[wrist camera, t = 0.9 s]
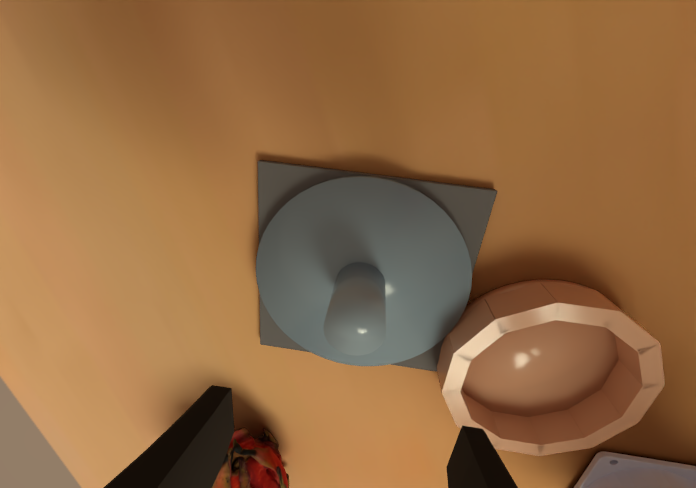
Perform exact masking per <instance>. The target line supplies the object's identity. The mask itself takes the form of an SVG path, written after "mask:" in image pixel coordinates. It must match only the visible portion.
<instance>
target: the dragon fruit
mask: <svg viewBox="0 0 696 488" xmlns="http://www.w3.org/2000/svg"><path fill="white" fill-rule="evenodd" d="M240 429H241V428H240ZM240 429H239V430H238V431H237V430H236V431H234V434H233V437H232V439H231V442H230V445H229V448H228V451H227V453H226V456H225V459H224V461H223V464H222V467H221V469H220V471H219V473H218V475H217V478H216V480H215V482H214V484H213V486H212V488H289V476H288V474H287V473H286V472H285V469H284V467H283V465H282V464H281V455H280V453H279V451H278V449H277V448H278V443H277V442H276V441H275V439H274V437H273V436H272V434H271V433H270V432H269V431H267V430H266V429H264V428H263V430H264V436H262V437H258V438H257V439H256V440H255V441H254V438H253V437H252V436H250V434H249V432H248V431H247V429H246V428H243V429H241V430H240Z"/></svg>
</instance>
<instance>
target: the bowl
mask: <svg viewBox="0 0 696 488" xmlns="http://www.w3.org/2000/svg"><path fill="white" fill-rule="evenodd" d="M437 372H438V377H439V382H440V387H441V392H442V394H443V397H444V399H445V401H446V403H447V406H448V408H449V410H450V412H451V415H452V417H453V419H454V421H455V424H456V426H457V427H459V428H462V426H468V427H475V428H481V429H483V430H484V431H485V433H486V434H487V436H488V438H489V440H490V441H491V443H492V445H493V446H494V448H495V449H499V450H505V451H511V452H517V453H523V454H530V455H536V456H544V455H550V454H557V453H563V452H569V451H575V450H582V449H588V448H593V447H595V446H596V445H598V444H600V443H602V442H604V441H606V440H608V439H609V438H611V437H613V436H615V435H617V434H619V433H621V432H623V431H624V430H626V429H628V428H630V427H632V426H634V425H636V424H637V423H639V421H640V420H641V418H642V417H643V416H644V414H645V413H646V411H647V410H648V409H649V407H650V406H651V404H652V403H653V402H654V400H655V399H656V397H657V396H658V394H659V393H660V392H661V390H662V389H663V387H664V386H665V380H664V371H663V361H662V352H661V344H660V342H658V341H657V340H656V339H655V338H654V337H653V336H652V335H650V334H649V333H648V332H647V331H646V330H645V329H644V328H642V327H641V326H640V325H639V324H638V323H637V322H636V321H634V320H633V319H632V318H631V317H630V316H628V315H627V314H626V313H625V312H623V311H622V310H621V309H620V308H618V307H617V306H616V305H615V304H614V303H612V302H611V301H610V300H609V299H608V298H606V297H605V296H603V295H602V294H601V293H600V292H599V291H597V290H593V289H591V288H589V287H586V286H583V285H580V284H577V283H573V282H568V281H563V280H551V279H543V280H529V281H522V282H517V283H513V284H509V285H506V286H503V287H500V288H497V289H495V290H492V291H490V292H488V293H486V294H484V295H482V296H480V297H479V298H477V299H476V300H474V301H472V302H471V303H470V304H469V305H467V306H466V307H465V310H464V312H463V314H462V316H461V317H460V319H459V321H458V322H457V324H456V325H455V326H454V328H453V329H452V330H451V331H450V332H449V333H448V334H447V335H446V337H445V339H444V342H443V344H442V347H441V351H440V356H439V361H438V364H437Z"/></svg>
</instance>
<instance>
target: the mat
mask: <svg viewBox="0 0 696 488" xmlns="http://www.w3.org/2000/svg"><path fill="white" fill-rule="evenodd" d="M355 175H366V176H378V177H383V178H388V179H392V180H395V181H398V182H401V183H404V184H407V185H409V186H411V187H413V188H415V189H417V190H419V191H421V192H422V193H424V194H425V195H427V196H428V197H430V198H431V199H433V200H434V201H435V202H436V203H437V204H438V205H439V206H440V207H441V208H443V209H444V211H445V212H446V213H447V214H448V215H449V217H450V218H451V219H452V220H453V222H454V223H455V225H456V227H457V228H458V230H459V231H460V233H461V235H462V237H463V239H464V241H465V244H466V246H467V249H468V252H469V256H470V260H471V268H472V273H473V270H474V266H475V263H476V260H477V256H478V253H479V250H480V247H481V243H482V240H483V237H484V233H485V230H486V227H487V224H488V220H489V217H490V214H491V210H492V207H493V204H494V201H495V197H496V194H497V191H496V190H495V189H488V188H480V187H472V186H464V185H456V184H448V183H440V182H432V181H424V180H416V179H408V178H400V177H392V176H384V175H376V174H368V173H360V172H352V171H344V170H336V169H328V168H320V167H312V166H304V165H296V164H288V163H280V162H272V161H264V160H260V161H258V207H259V244H260V241H261V239H262V236H263V233H264V232H265V230H266V228H267V226H268V224H269V223H270V221H271V220H272V219H273V217H274V216H275V215H276V214H277V212H278V211H279V210H280V209H281V208H282V207H283V206H284V205H285V204H286V203H287V202H288V201H289V200H290V199H292V198H293V197H294V196H296V195H297V194H299V193H300V192H302V191H303V190H305V189H307V188H309V187H311V186H313V185H315V184H317V183H320V182H323V181H326V180H329V179H333V178H338V177H343V176H355ZM445 337H446V336H445ZM445 337H444V338H443V339H442V340H441V341H440V342H439V343H437V344H436V345H435V346H433V347H432V348H430V349H429V350H427V351H425V352H424V353H422V354H420V355H417V356H415V357H413V358H411V359H408V360H405V361H401V362H398V363H393V364H391V365H398V366H404V367H411V368H417V369H424V370H430V371H436V372H437V364H438V361H439V356H440V351H441V347H442V344H443V342H444V339H445ZM260 344H261V345H268V346H274V347H281V348H287V349H294V350H300V351H307V352H310V351H308V350H306V349H305V348H303V347H301V346H300V345H299V344H297V343H296V342H294V341H293V340H292V339H291V338H290V337H288V336H287V335H286V334H285V333H284V332H283V331H282V330H281V329H280V328H279V326H278V325H277V324H276V323H275V321H274V320H273V319H272V317H271V316H270V314H269V313H268V311H267V309H266V307H265V305H264V303H263V301H262V298H261V295H260Z"/></svg>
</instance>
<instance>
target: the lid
mask: <svg viewBox="0 0 696 488" xmlns="http://www.w3.org/2000/svg"><path fill="white" fill-rule="evenodd" d="M256 277H257V284H258V288H259V293H260V295H261V298H262V301H263V303H264V305H265V307H266V309H267V311H268V313H269V314H270V316H271V317H272V319H273V320H274V321H275V323H276V324H277V325H278V326H279V328H280V329H281V330H282V331H283V332H284V333H285V334H286V335H287V336H288V337H290V338H291V339H292V340H293V341H294V342H296V343H297V344H299V345H300V346H301V347H303V348H305V349H306V350H308V351H310V352H312V353H314V354H316V355H318V356H321V357H323V358H325V359H328V360H332V361H335V362H338V363H343V364H348V365H357V366H380V365H388V364H393V363H398V362H401V361H405V360H408V359H411V358H413V357H415V356H417V355H420V354H422V353H424V352H425V351H427V350H429V349H430V348H432V347H433V346H435V345H436V344H437V343H439V342H440V341H441V340H442V339H443V338H444V337H445V336H446V335H447V334H448V333H449V332H450V331H451V330H452V329H453V328H454V326H455V325H456V324H457V322H458V321H459V319H460V317H461V316H462V314H463V312H464V310H465V307H466V305H467V302H468V300H469V295H470V291H471V283H472V268H471V260H470V256H469V252H468V249H467V246H466V244H465V241H464V239H463V237H462V235H461V233H460V231H459V230H458V228H457V227H456V225H455V223H454V222H453V220H452V219H451V218H450V217H449V215H448V214H447V213H446V212H445V211H444V209H443V208H441V207H440V206H439V205H438V204H437V203H436V202H435V201H434V200H433V199H431V198H430V197H428V196H427V195H425V194H424V193H422V192H421V191H419V190H417V189H415V188H413V187H411V186H409V185H407V184H404V183H401V182H398V181H395V180H392V179H388V178H383V177H378V176H366V175H355V176H343V177H338V178H333V179H329V180H326V181H323V182H320V183H317V184H315V185H313V186H311V187H309V188H307V189H305V190H303V191H302V192H300V193H299V194H297V195H296V196H294V197H293V198H292V199H290V200H289V201H288V202H287V203H286V204H285V205H284V206H283V207H282V208H281V209H280V210H279V211H278V212H277V214H276V215H275V216H274V217H273V219H272V220H271V221H270V223H269V224H268V226H267V228H266V230H265V232H264V233H263V236H262V239H261V241H260V244H259V248H258V253H257V257H256Z"/></svg>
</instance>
